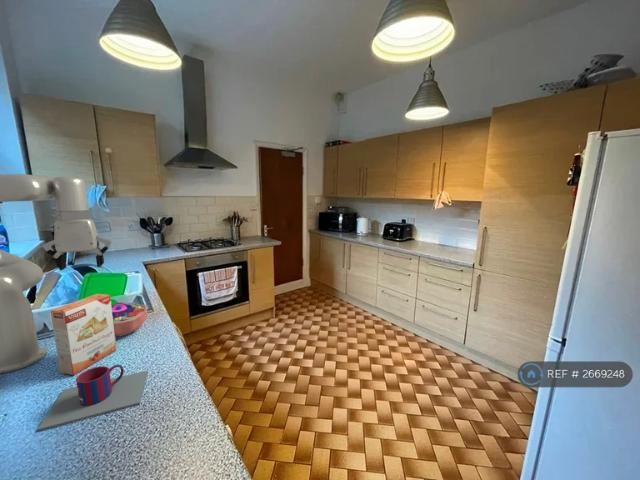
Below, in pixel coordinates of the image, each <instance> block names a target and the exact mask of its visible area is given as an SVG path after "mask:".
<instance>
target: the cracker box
mask: <svg viewBox="0 0 640 480" xmlns="http://www.w3.org/2000/svg"><path fill="white" fill-rule="evenodd" d="M111 306H112V299H111V295H110V294H102V293H101V294H100V293H95V294H93V295H90V296H87V297H85V298H82V299H79V300H76V301H73V302H71V303H67V304H65V305H62V306H61V305H60V306H58V307H56V308H52V309H51V310H50V317H51V322H52V329H53V330H52V331H53V335H54V336H53V337H54V342H55V349H56V354H57V362H58V367H59V369H58V370H59V373H60V374H66V375H71V376H75V375H77V374H79V373H80V372H82V371H84V370H86V369H87V368H89V367H90V366H92V365H93V364H96V363H97V362H98V361H101V360H102V359H104V358H106V357H107V356H109V355H110V354H112V353H114V352H116V351H117V346H116V345H117V344H116V335H115V334H114V325H113V316H112V307H111Z"/></svg>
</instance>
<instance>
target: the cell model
mask: <svg viewBox="0 0 640 480" xmlns="http://www.w3.org/2000/svg"><path fill="white" fill-rule="evenodd" d="M111 307H112V316H113V325H114V334H115V336H117V337H119V336H120V337H121V336H122V337H123V336H126V335H128V334H131V333H133V332H136V331H138V330H139V329H141V327H142V325H143V324H144V322H145V321H146V320H147V319H148V316H149V315H148V309H147V306H146V305H144V304H139V303H134V302H132V303H131V302H130V303H125V302H115V303H114V304H111Z"/></svg>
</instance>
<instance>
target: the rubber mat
mask: <svg viewBox="0 0 640 480" xmlns="http://www.w3.org/2000/svg"><path fill="white" fill-rule="evenodd" d="M148 374H149V370H144V371H140V372H135V373H131V374H125V375H123V376H122V378H121V379H120V380H119V381H118V382H117V383H116V384H114V385H113V386H112V392H111V394H110V395H109V397H107V398H106V399H105V400H103V401H101V402H99V403H97V404H94V405H90V406H83V405H81V404H80V401H79V395H78V389H77V386H73V387H69V388H64V389H63V390H62V391H61V393H60V394H59V396H58V397H57V399H56V401H55V402H54V404H53V405H52V407H51V408H50V409H49V411H48V413H47V414H46V416H45V417H44V419H43V420H42V422H41V423H40V425H39V427H38V428H37V432H38V433H39V432H42V431H45V430H49V429H53V428H56V427H60V426H65V425H68V424H72V423H75V422H79V421H84V420H87V419H90V418H95V417H99V416H103V415H105V414H109V413H112V412H116V411H120V410H124V409H128V408H131V407H134V406H138V405H141V401H142V398H143V392H144V389H145V386H146V385H145V384H146V381H147V377H148ZM118 377H119V376H117V377H113V378H110V379H111V383H112V382H114V381H115V380H116V379H117V378H118Z"/></svg>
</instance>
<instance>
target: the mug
mask: <svg viewBox="0 0 640 480" xmlns="http://www.w3.org/2000/svg"><path fill="white" fill-rule="evenodd" d="M116 368H120V374H119V375H118V376H117V377H118V378H117V377H116V378H117V379H116V380H115V381H114V382H112V383H111V379H112V378H111V372H112V371H113V370H114V369H116ZM122 376H124V367H123V365H120V364H115V365H113V366H111V367H108V366H105V365H103V366H102V365H99V366H95V367H91V368H90V369H85V371H83V372H81V373H80V374H79V375H78V376H77V377H76V379H75V383H76V387H77V389H78V395H79V401H80V404H81V405H83V406H90V405H94V404H97V403H99V402H101V401H103V400H105V399H106V398H107V397H109V395H110V394H111V392H112V386H113V385H114V384H116V383H117V382H118V381H119V380H120V379H121V378H122Z"/></svg>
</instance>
